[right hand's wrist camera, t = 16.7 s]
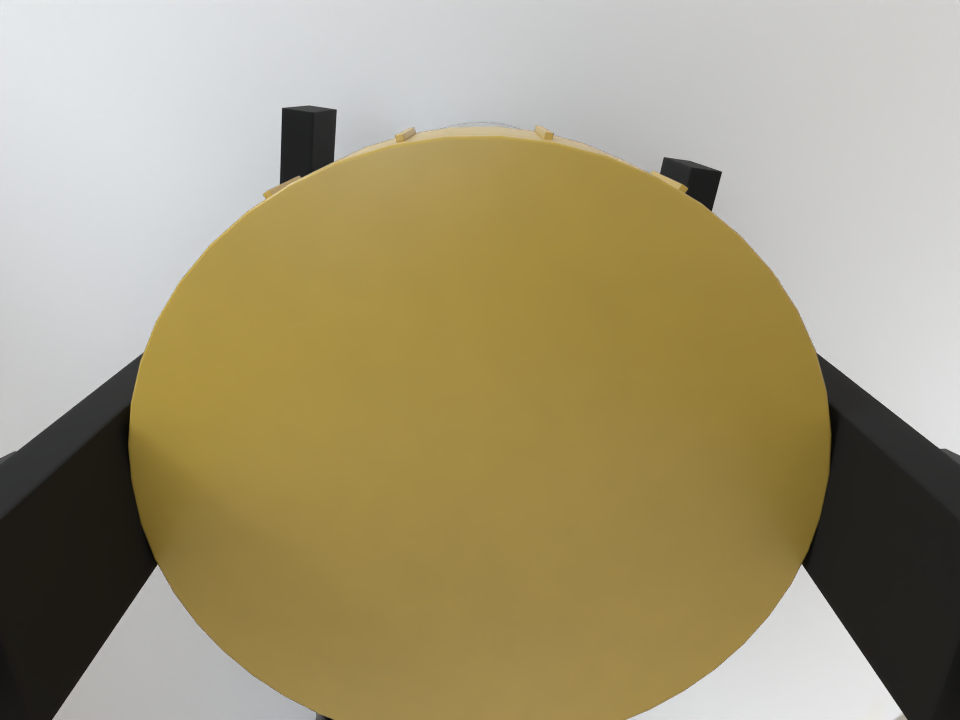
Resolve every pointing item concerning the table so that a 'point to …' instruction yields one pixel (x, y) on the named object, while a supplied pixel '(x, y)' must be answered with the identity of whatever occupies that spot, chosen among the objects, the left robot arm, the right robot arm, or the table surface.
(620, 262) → the lid
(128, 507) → the right robot arm
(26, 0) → the table surface
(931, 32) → the table surface
